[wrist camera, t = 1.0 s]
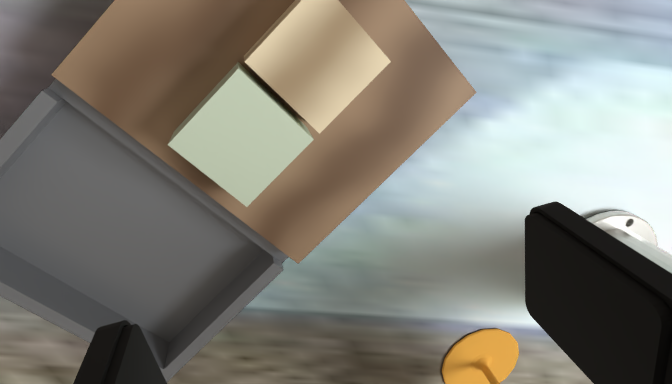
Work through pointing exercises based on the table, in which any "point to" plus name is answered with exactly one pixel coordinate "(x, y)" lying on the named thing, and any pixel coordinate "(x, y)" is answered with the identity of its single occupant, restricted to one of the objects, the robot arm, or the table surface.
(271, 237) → the tan wooden board
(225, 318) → the tray
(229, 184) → the sage block
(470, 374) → the cup
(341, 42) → the maple block
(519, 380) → the table surface
